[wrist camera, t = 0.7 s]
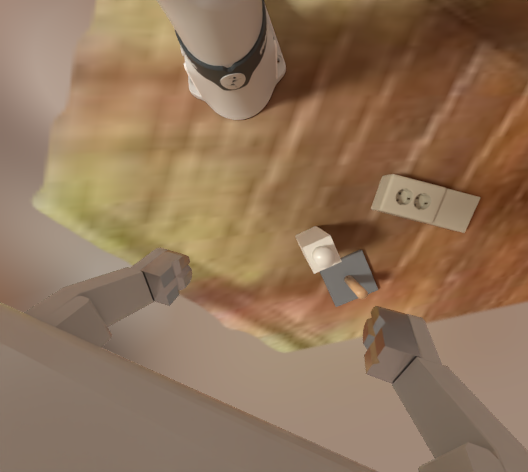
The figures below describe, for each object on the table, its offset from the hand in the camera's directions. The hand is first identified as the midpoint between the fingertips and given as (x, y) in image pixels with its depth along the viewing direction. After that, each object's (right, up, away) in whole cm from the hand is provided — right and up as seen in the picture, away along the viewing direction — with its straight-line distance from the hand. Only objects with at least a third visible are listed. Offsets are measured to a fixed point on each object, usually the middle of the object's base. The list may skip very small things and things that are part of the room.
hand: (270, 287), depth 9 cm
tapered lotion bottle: (+10, +1, +36) cm, 37 cm away
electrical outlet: (+32, +9, +34) cm, 48 cm away
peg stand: (+19, -7, +37) cm, 42 cm away
